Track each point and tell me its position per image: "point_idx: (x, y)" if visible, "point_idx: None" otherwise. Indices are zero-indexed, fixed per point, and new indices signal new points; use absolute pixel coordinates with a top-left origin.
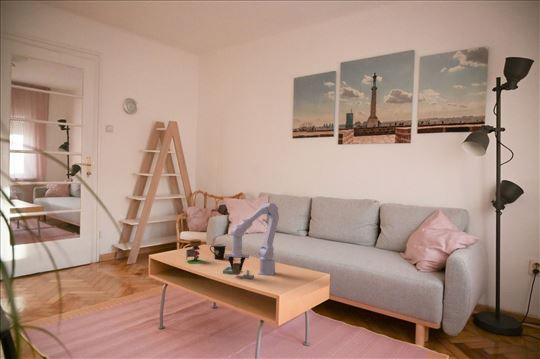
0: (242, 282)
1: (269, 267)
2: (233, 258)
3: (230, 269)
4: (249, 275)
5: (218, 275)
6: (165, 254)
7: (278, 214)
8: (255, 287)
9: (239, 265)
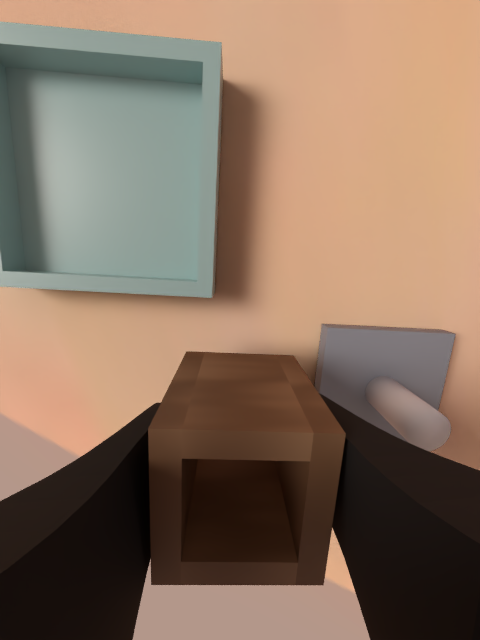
0: (334, 550)
1: None
2: (27, 612)
3: (63, 90)
4: (399, 369)
5: (11, 386)
6: None
7: None
8: None
9: (320, 566)
